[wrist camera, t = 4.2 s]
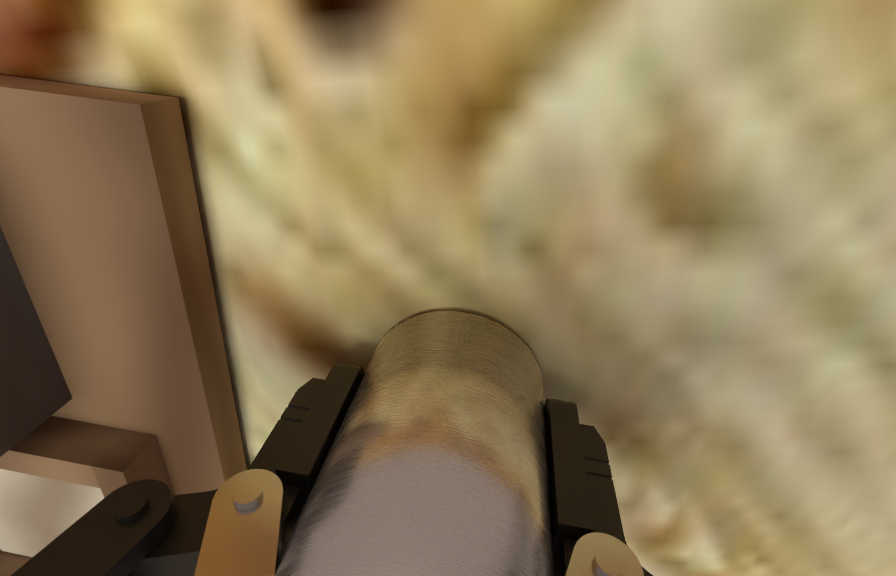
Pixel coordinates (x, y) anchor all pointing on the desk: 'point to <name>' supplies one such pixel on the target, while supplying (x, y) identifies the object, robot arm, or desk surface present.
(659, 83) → the desk surface
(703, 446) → the desk surface
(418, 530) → the lens
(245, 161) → the desk surface
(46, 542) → the dock
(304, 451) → the robot arm
